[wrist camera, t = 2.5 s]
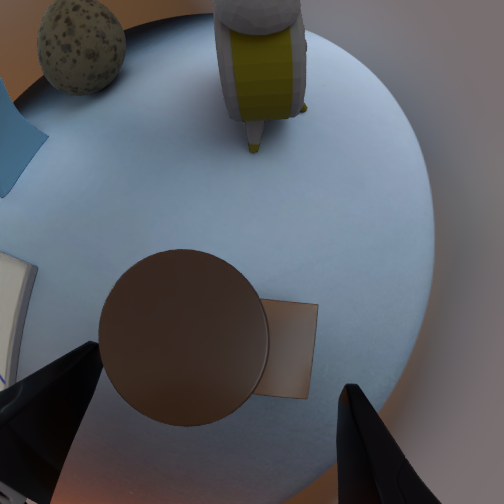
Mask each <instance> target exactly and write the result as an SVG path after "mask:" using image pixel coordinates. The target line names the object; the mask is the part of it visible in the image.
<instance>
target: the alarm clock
mask: <svg viewBox="0 0 504 504" xmlns="http://www.w3.org/2000/svg"><path fill="white" fill-rule="evenodd" d="M300 7H301V4H300V0H214V29H215V41H216V51H217V59H218V67H219V73H220V80H221V85H222V91H223V96H224V100H225V104H226V108H227V111H228V114H229V116H230V118H232V119H233V120H235V121H242V122H245V124H246V130H247V136H248V144H249V149H250V152H253V153H255V152H258V150H259V145H260V141H261V137H262V132H263V128H264V123H265V120H276V119H288V118H289V117H295V116H297V115H298V114H299V113H300V111H302V112H305V111H306V110H307V106H306V105H305V103H304V102H303V101H304V95H305V88H306V51H307V42H306V40H305V34H304V33H305V28H304V25H303V20H302V15H301V10H300Z"/></svg>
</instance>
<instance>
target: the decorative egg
mask: <svg viewBox="0 0 504 504" xmlns="http://www.w3.org/2000/svg"><path fill="white" fill-rule="evenodd" d="M37 51H38V59H39V63H40V66H41V69H42V71H43V73H44V75H45V77H46V79H47V80H48V81H49V82H50V83H51V85H52V86H54V87H55V88H56V89H58V90H59V91H61V92H63V93H66V94H70V95H77V96H81V95H89V94H92V93H95V92H97V91H99V90H101V89H103V88H104V87H106V86H107V85H108V84H110V83H111V82H112V80H113V79H114V78H115V77H116V75H117V74H118V72H119V70H120V68H121V66H122V64H123V61H124V58H125V52H126V40H125V35H124V31H123V29H122V27H121V24H120V23H119V21H118V20H117V18H116V17H115V16H114V14H113V13H112V12H111V11H110V10H109V9H108V8H107V7H106V6H104V5H103V4H102V3H100V2H98V1H97V0H56V1H54V2H53V3H52V4H51V5H50V6H49V7H48V9H47V10H46V12H45V14H44V16H43V18H42V21H41V23H40V27H39V31H38V38H37Z"/></svg>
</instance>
